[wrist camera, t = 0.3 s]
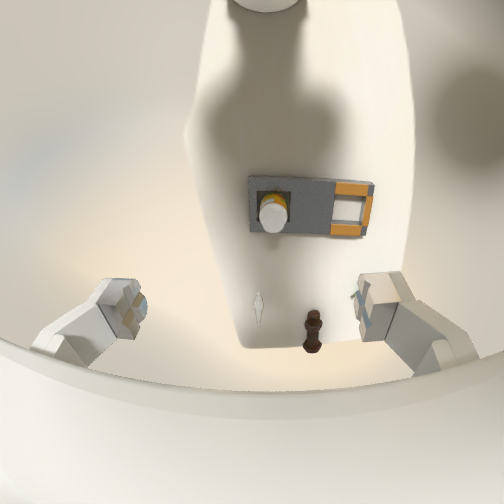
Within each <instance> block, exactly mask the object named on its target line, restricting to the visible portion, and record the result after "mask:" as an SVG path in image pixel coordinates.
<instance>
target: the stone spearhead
mask: <svg viewBox="0 0 504 504" xmlns="http://www.w3.org/2000/svg"><path fill="white" fill-rule="evenodd" d="M254 309H255V311H256V318H257V323H258V328H259V324H260V318H261V312H262V310H263V302H262V298H261V293H260V291H259V292H257V297H256V298H255V302H254Z"/></svg>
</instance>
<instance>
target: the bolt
mask: <svg viewBox="0 0 504 504" xmlns="http://www.w3.org/2000/svg"><path fill="white" fill-rule="evenodd" d="M321 326H322V321H321V320H320V314H319V311H317V310H312V311H310V312H309V313H308V319H307V321H306V323H305V327H306V328H307V330H308V339H306V341H305V342H304V344H303V348H304V349H305V350H306V352H308V353H316V352H318V351H319V349H320V348H321V345H322V343H321V342H320V341H319V340H318V335H319V330H320V328H321Z"/></svg>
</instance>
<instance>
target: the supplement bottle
mask: <svg viewBox="0 0 504 504" xmlns="http://www.w3.org/2000/svg"><path fill="white" fill-rule="evenodd" d="M259 218H260V222H261V223H262V225H263V228H264V229H265V230H266V231H267V232H269V233H278V232H280V231H281V230H282V229H283V227H284V224H285V223H286V221H287V206H286V200H285V198H284V197H283V196H282V195H281V194H280V193H277V192H270V193H267V194H266V195H265V196H264V197H263V198H262V200H261V205H260V213H259Z"/></svg>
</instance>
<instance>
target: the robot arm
mask: <svg viewBox="0 0 504 504" xmlns="http://www.w3.org/2000/svg"><path fill="white" fill-rule="evenodd" d="M234 1H235V2H237V3H238V4H239V5H241V6H243V7H245V8H247V9H249V10H253V11H258V12H276V11H281V10H284V9H287V8H289V7H291V6H292V5H294V4H295V3H297V2H298V1H299V0H234ZM357 284H358V287H359V290H358V291H357V292H356V293H355V300H354V309H355V315H356V319H358V320H359V321H360V325H359V330H360V334H361V338H362V342H371V341H383V340H385V342H386V343H387V344H388V345H389V346H390V347H391V348H392V349H393V350H394V352H396V354H397V355H398V356H400V358H401V359H402V360H403V361H404V362H405V363H406V364H407V365H408V366H409V367H410V368H411V369H412V370H413V371H414V372H415V373H414V374H413V376H412V377H411V378H407V379H402V380H396V381H391V382H385V383H378V384H372V385H364V386H356V387H347V388H337V389H326V390H312V391H285V392H254V391H253V392H251V391H228V390H227V391H226V390H213V389H201V388H192V387H183V386H175V385H167V384H161V383H154V382H148V381H142V380H136V379H132V378H127V377H122V376H117V375H113V374H108V373H104V372H100V371H96V370H92V369H89V368H88V366H89V365H90V364H91V363H92V362H93V361H94V360H95V359H96V358H97V357H99V356H100V355H101V353H103V352H104V351H105V350H106V349H107V348H108V347H109V346H110V345H112V344H113V342H115V341H116V340H117V338H120V339H130V340H135V338H136V335H137V333H138V331H139V329H140V325H139V323H140V322H141V321H142V320H144V319H145V317H146V314H147V301H146V298H145V296H144V295H143V294H142V293H140V289H141V286H140V284H139V282H138V280H136V279H123V278H105V279H102V281H101V282H100V283H99V285H98V286H97V287H96V289H95V290H94V292H93V293H92V294H91V296H90V297H89V299H88V300H87V302H86V303H82V304H81V305H79V306H77V307H76V308H74V309H73V310H71V311H69V312H68V313H66V314H65V315H63V316H62V317H60V318H59V319H57V320H56V321H54V322H53V323H51V324H50V325H48V326H47V327H45V328H44V329H42V330H41V332H40V333H39V335H38V336H37V338H36V339H35V341H34V343H33V344H32V346H31V347H30V349H26V348H24V347H21V346H19V345H16V344H14V343H11V342H9V341H7V340H4V339H2V338H0V504H504V351H501V352H499V353H496V354H493V355H491V356H488V357H485V358H482V359H480V358H479V356H478V354H477V352H476V349H475V347H474V345H473V343H472V341H471V339H470V337H469V335H468V334H467V332H465V331H464V330H463V329H461V328H460V327H458V326H457V325H455V324H454V323H453V322H451V321H450V320H448V319H447V318H445V317H444V316H442V315H441V314H439V313H438V312H436V311H435V310H434V309H432V308H431V307H429V306H428V305H426V304H425V303H423V302H422V301H420V300H417V301H416V299H415V297H414V296H413V294H412V292H411V290H410V288H409V286H408V284H407V283H406V281H405V279H404V277H403V275H402V274H401V272H400V271H391V272H385V273H369V274H360V275H359V278H358V283H357Z"/></svg>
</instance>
